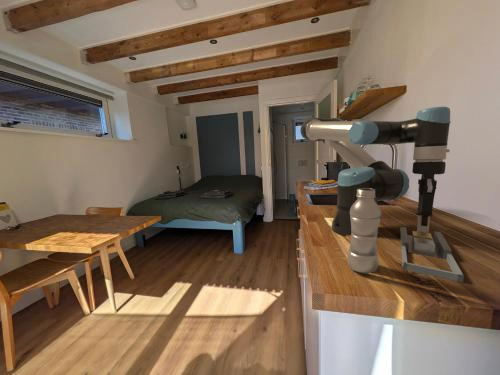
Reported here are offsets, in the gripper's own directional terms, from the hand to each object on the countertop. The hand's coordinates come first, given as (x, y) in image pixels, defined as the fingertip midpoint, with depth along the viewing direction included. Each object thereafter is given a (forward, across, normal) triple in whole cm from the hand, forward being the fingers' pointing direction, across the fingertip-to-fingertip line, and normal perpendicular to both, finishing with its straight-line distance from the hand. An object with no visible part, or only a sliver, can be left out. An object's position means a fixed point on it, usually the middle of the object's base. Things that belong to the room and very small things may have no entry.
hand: (422, 234), depth 64 cm
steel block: (+1, -11, +1) cm, 11 cm away
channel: (+2, -7, +1) cm, 7 cm away
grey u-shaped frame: (+2, -20, +1) cm, 20 cm away
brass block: (+1, -6, +1) cm, 6 cm away
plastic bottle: (+2, -29, +14) cm, 33 cm away
